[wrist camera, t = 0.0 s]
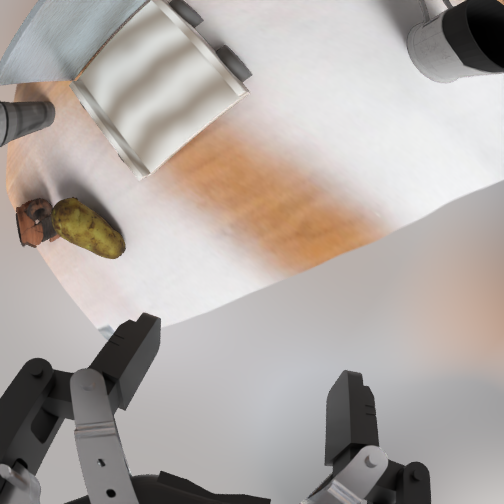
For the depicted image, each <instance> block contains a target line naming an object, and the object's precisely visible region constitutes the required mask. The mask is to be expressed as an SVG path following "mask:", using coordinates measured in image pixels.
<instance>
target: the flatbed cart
mask: <svg viewBox="0 0 504 504" xmlns="http://www.w3.org/2000/svg"><path fill="white" fill-rule="evenodd" d="M202 21H204V20H203V19H202V18H201V17H200V16H199V15H198V14H197V13H196V12H195V11H194V10H193V9H192V8H191V7H190V6H189V5H188V4H187V3H186V2H184V1H183V0H172V1H171V2H170V3H169V2H168V1H167V0H151V1H150V2H149V3H148V4H147V5H145V6H144V7H143V8H142V9H141V10H140V11H139V12H138V13H137V14H136V15H135V16H134V17H133V18H132V19H131V20H130V21H129V22H128V23H127V24H126V25H125V26H124V27H123V28H122V29H121V30H120V31H119V32H118V33H117V34H116V35H115V36H114V37H113V38H112V39H111V40H110V41H109V43H108V44H107V45H106V46H105V47H104V48H103V49H102V50H101V52H100V53H99V54H98V55H97V56H96V57H95V59H94V60H93V61H92V62H91V63H90V65H89V66H88V67H87V68H86V70H85V71H84V72H83V73H82V75H81V76H80V77H79V78H78V80H77V81H72V82H71V84H70V85H69V86H70V88H71V89H72V91H73V92H74V93H75V95H76V96H77V98H78V99H79V101H80V103H81V105H82V106H83V108H84V109H85V110H86V111H87V112H88V113H89V115H90V116H91V117H92V119H93V120H94V122H95V123H96V124H97V126H98V127H99V128H100V130H101V131H102V132H103V134H104V135H105V137H106V138H107V139H108V141H109V142H110V143H111V145H112V146H113V147H114V149H115V150H116V151H117V153H118V155H119V157H120V158H121V159H122V161H123V162H124V163H126V165H127V166H128V167H129V169H130V170H131V171H132V172H133V174H134V175H135V176H136V178H137V179H138V180H141V179H143V178H145V177H147V176H149V175H152V174H154V173H155V172H156V171H157V170H158V169H159V168H160V167H161V166H162V165H163V164H165V163H166V162H167V161H168V160H169V159H170V158H171V157H172V156H173V155H175V154H176V153H177V152H178V151H179V150H180V149H181V148H183V147H184V146H185V145H186V144H187V143H188V142H189V141H191V140H192V139H193V138H194V137H195V136H197V135H198V134H199V133H200V132H201V131H203V130H204V129H205V128H206V127H207V126H209V125H210V124H211V123H212V122H214V121H215V120H216V119H217V118H219V117H220V116H221V115H222V114H224V113H225V112H226V111H228V110H229V109H230V108H232V107H233V106H234V105H235V104H237V103H238V102H239V101H241V100H242V99H243V98H245V97H246V96H248V95H249V94H250V92H249V90H248V89H247V88H246V87H245V85H244V84H243V83H242V82H244V81H245V80H246V79H248V78H249V77H250V76H252V74H251V72H250V71H249V69H248V68H247V67H246V66H245V65H244V63H243V62H242V61H241V60H240V59H239V58H238V57H237V56H236V55H235V53H234V52H233V51H232V50H231V49H230V48H229V47H227V46H226V45H224V46H223V47H222V48H220V49H219V50H218V51H216V52H215V50H214V49H213V48H212V47H211V46H210V45H209V44H208V43H207V42H206V41H205V39H204V38H203V37H202V36H201V35H200V34H199V33H198V32H197V31H196V30H195V29H194V28H195V27H196V26H197V25H199V24H200V23H201V22H202Z"/></svg>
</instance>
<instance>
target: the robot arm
mask: <svg viewBox="0 0 504 504" xmlns="http://www.w3.org/2000/svg"><path fill="white" fill-rule="evenodd" d="M160 330H161V319H160V318H158V317H156V316H153V315H150V314H147V313H145V312H144V313H142V315H141V316H140V317H139V319H138V320H137V321H136V322H135V321H132V320H128V321H126V322H125V323H123V324H121V325H120V326H119V327H118V328H117V330H116V331H115V332H114V334H113V335H112V336H111V338H110V339H109V341H108V342H107V343H106V344H105V346H104V347H103V348H102V350H101V351H100V352H99V354H98V355H97V357H96V358H95V359H94V361H93V362H92V363H91V365H90V366H89V367H88V368H85V369H80V370H78V371H77V372H75V373H69V372H63V371H59V370H54V369H52V366H51V364H50V363H49V362H48V361H46V360H45V359H42V358H34V359H31V360H29V361H28V362H26V363H25V365H24V366H23V367H22V369H21V370H20V371H19V373H18V374H17V376H16V377H15V378H14V380H13V381H12V383H11V384H10V386H9V387H8V388H7V390H6V391H5V393H4V394H3V396H2V397H1V398H0V504H40V493H41V486H40V483H39V481H38V479H37V478H36V477H35V475H36V473H37V471H38V469H39V467H40V465H41V463H42V460H43V459H44V457H45V455H46V453H47V451H48V449H49V447H50V445H51V443H52V441H53V439H54V437H55V435H56V434H57V432H58V430H59V428H60V426H61V424H62V423H63V421H64V419H65V418H67V419H71V420H75V425H76V430H75V431H74V435H75V441H76V446H77V451H78V456H79V461H80V465H81V469H82V473H83V477H84V480H85V485H86V488H87V492H88V495H86V496H84V497H81V498H78V499H76V500H73V501H70V502H67V503H64V504H270V502H271V499H266V498H260V497H254V496H250V495H245V494H214V493H211V492H209V491H207V490H205V489H203V488H202V487H200V486H198V485H196V484H194V483H192V482H191V481H189V480H187V479H184V478H180V477H178V476H175V475H172V474H169V473H166V472H163V471H160V474H159V475H149V474H147V475H138V476H133V477H132V475H131V472H130V469H129V466H128V463H127V460H126V457H125V454H124V451H123V448H122V444H121V441H120V437H119V434H118V430H117V426H116V422H115V418H114V414H115V412H116V410H117V408H120V409H123V410H126V408H127V407H128V405H129V403H130V401H131V399H132V398H133V396H134V394H135V392H136V390H137V389H138V387H139V385H140V383H141V381H142V380H143V378H144V376H145V374H146V372H147V371H148V369H149V367H150V365H151V363H152V362H153V360H154V358H155V356H156V354H157V352H158V350H159V346H160ZM326 407H327V408H326V445H325V466H333V472H332V473H331V474H330V475H329V476H328V477H327V478H326V479H325V480H324V481H323V482H322V483H321V484H320V485H319V486H318V487H317V488H316V489H315V490H314V491H313V492H312V493H311V494H310V495H309V496H308V497H307V498H306V499H304V500H303V501H302V502H301V503H300V504H360V503H361V502H362V500H363V499H365V500H367V504H431V490H430V475H429V471H428V469H427V467H426V466H425V465H424V464H422V463H420V462H411V463H410V464H408V465H406V466H404V465H401V464H399V463H396V462H393V461H391V460H389V459H388V458H387V455H386V454H385V452H384V451H383V450H382V449H381V448H379V440H378V429H377V420H376V416H375V415H376V410H375V401H374V396H373V394H372V392H371V390H370V388H369V387H368V386H363V378H362V374H361V373H357V372H352V371H347V370H344V371H343V372H342V374H341V375H340V377H339V378H338V379H337V381H336V382H335V384H334V385H333V387H332V388H331V390H330V391H329V394H328V397H327V405H326Z"/></svg>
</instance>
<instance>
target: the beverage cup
mask: <svg viewBox="0 0 504 504" xmlns="http://www.w3.org/2000/svg"><path fill="white" fill-rule="evenodd" d="M54 118H55V108H54V106H53V104H52V103H50V102H13V103H10V102H1V101H0V147H2V146H3V145H5V144H7V143H8V142H10V141H12V140H14V139H17V138H19V137H22V136H25V135H27V134H30V133H33V132H36V131H38V130H41V129H43V128H45V127H48V126H50V125H51V124H52V123H53V121H54Z"/></svg>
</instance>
